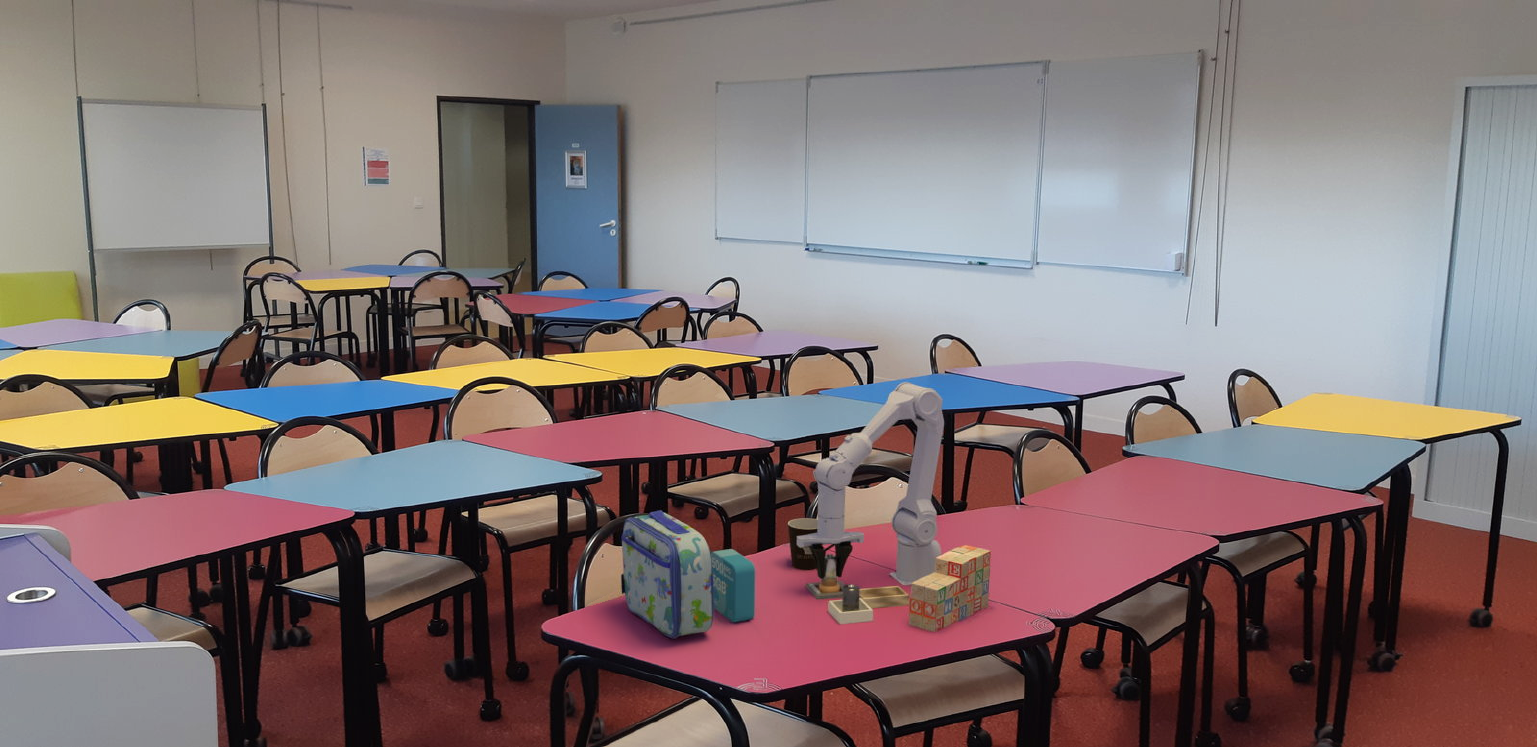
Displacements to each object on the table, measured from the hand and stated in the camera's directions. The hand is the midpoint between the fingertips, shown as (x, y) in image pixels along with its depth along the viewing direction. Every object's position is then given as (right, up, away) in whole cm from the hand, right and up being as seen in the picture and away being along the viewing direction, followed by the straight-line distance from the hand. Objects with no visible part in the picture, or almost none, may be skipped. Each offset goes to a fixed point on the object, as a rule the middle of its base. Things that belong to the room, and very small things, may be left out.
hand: (829, 576), depth 235 cm
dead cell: (+3, -6, -13) cm, 15 cm away
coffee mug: (-3, -1, +18) cm, 19 cm away
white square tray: (+3, -6, -13) cm, 15 cm away
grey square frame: (0, -4, +1) cm, 4 cm away
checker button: (0, -4, +1) cm, 4 cm away
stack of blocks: (+24, -6, -11) cm, 27 cm away
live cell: (0, -2, 0) cm, 2 cm away
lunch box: (-34, -6, -16) cm, 38 cm away
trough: (+10, -5, -5) cm, 13 cm away
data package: (-21, -6, -11) cm, 24 cm away
